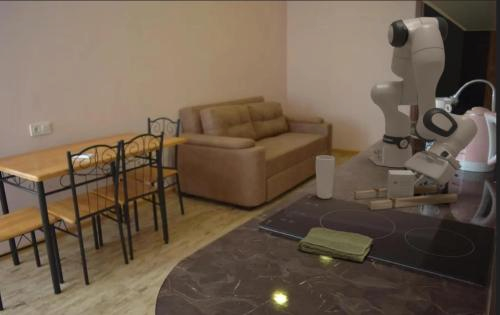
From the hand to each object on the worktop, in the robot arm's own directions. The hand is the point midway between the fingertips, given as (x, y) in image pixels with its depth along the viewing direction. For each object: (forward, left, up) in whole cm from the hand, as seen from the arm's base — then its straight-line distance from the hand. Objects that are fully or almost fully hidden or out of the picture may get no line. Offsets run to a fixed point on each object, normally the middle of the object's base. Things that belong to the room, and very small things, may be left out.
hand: (412, 184), depth 140 cm
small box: (0, -5, -6) cm, 8 cm away
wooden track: (0, -3, -5) cm, 6 cm away
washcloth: (+29, -41, -6) cm, 51 cm away
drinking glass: (-10, -29, -6) cm, 31 cm away
